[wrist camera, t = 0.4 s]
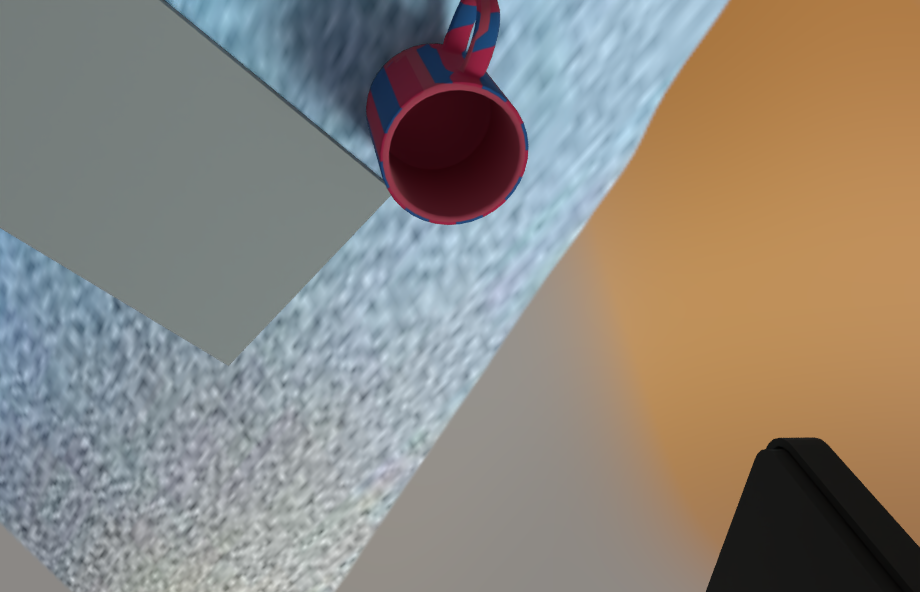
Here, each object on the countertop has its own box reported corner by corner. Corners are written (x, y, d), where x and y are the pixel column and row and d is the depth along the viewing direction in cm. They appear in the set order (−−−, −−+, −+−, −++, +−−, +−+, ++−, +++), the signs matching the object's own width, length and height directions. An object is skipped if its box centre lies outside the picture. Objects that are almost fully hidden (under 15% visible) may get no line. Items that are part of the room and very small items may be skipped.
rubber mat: (-131, 141, 38) (-136, 145, 37) (41, -101, 34) (37, -99, 34) (229, 359, 47) (228, 365, 47) (392, 187, 44) (393, 192, 43)
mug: (347, 148, 42) (358, 201, 36) (417, -46, 38) (441, -21, 32) (465, 186, 44) (492, 241, 39) (542, 6, 40) (586, 39, 35)
